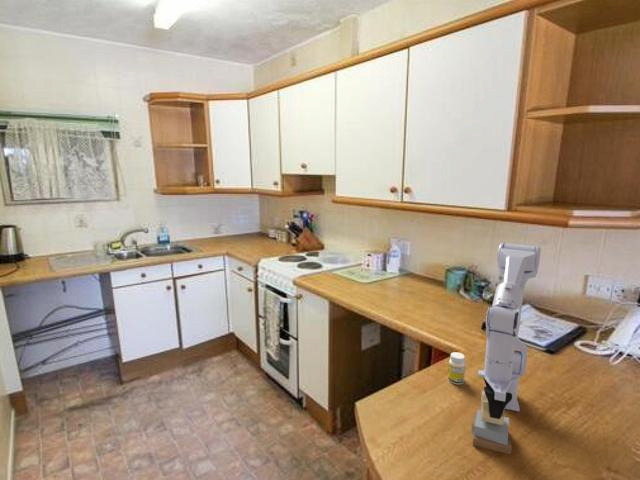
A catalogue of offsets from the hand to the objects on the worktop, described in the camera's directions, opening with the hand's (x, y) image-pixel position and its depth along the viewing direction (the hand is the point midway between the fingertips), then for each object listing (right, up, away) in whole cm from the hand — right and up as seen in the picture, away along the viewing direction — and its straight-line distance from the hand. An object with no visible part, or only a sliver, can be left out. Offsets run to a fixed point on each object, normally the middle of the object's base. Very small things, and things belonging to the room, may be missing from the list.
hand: (493, 410), depth 86 cm
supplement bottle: (+1, -3, +25) cm, 26 cm away
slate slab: (0, -5, +1) cm, 6 cm away
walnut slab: (0, -8, +2) cm, 8 cm away
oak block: (0, -2, 0) cm, 2 cm away
